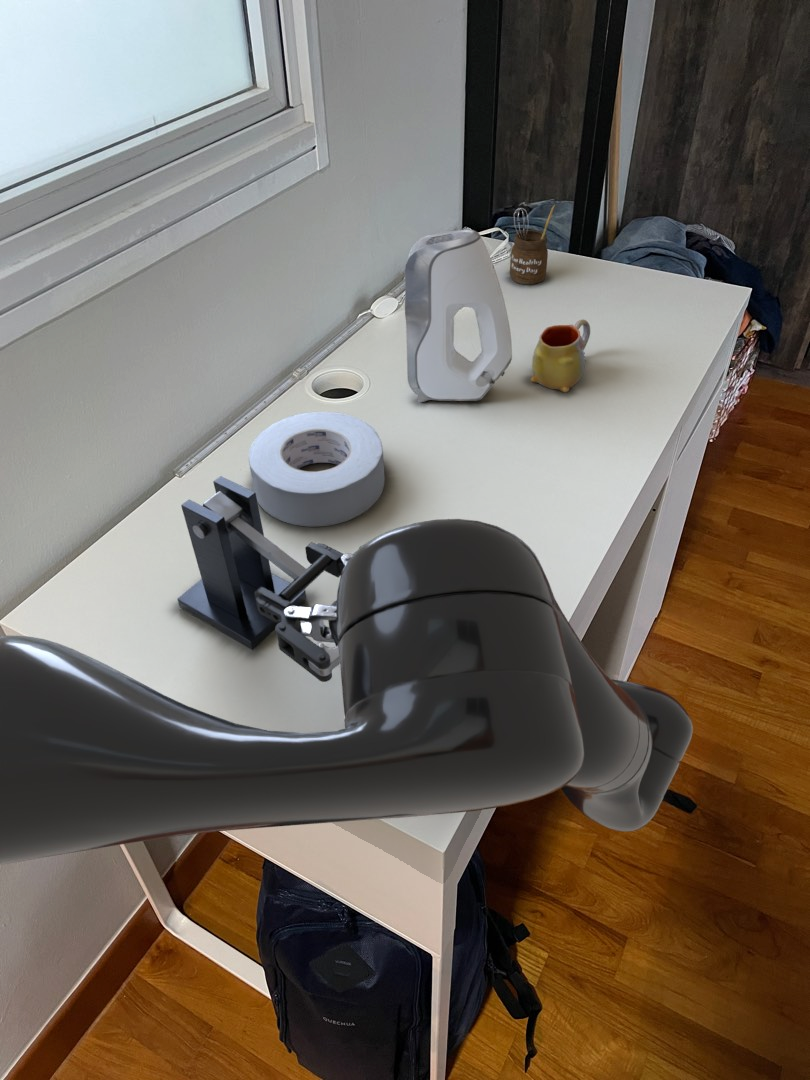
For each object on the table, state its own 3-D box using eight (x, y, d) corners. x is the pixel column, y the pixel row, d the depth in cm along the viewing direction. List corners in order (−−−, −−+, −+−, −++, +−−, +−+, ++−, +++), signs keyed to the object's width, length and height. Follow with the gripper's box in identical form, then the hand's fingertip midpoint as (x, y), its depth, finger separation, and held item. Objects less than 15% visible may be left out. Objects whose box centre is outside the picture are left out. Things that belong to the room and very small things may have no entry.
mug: (564, 398, 108) (570, 353, 104) (520, 381, 111) (524, 337, 107) (609, 360, 115) (616, 316, 110) (566, 345, 118) (571, 302, 114)
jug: (407, 402, 108) (401, 239, 94) (412, 381, 112) (407, 221, 98) (508, 407, 107) (518, 241, 92) (509, 385, 111) (520, 223, 96)
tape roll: (405, 504, 93) (404, 468, 90) (276, 542, 89) (270, 507, 86) (357, 432, 104) (354, 398, 100) (239, 464, 99) (232, 430, 96)
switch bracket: (307, 599, 83) (290, 494, 73) (252, 650, 78) (227, 545, 69) (235, 561, 87) (210, 457, 78) (179, 607, 82) (146, 503, 73)
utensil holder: (514, 267, 137) (519, 194, 129) (551, 272, 136) (558, 199, 127) (504, 282, 133) (508, 208, 125) (542, 288, 132) (549, 213, 123)
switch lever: (330, 570, 75) (334, 555, 73) (287, 610, 71) (290, 596, 69) (232, 495, 77) (234, 479, 76) (186, 531, 74) (186, 515, 72)
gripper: (485, 570, 68) (330, 498, 76) (384, 686, 60) (219, 592, 67) (482, 629, 74) (336, 556, 81) (387, 743, 65) (234, 651, 72)
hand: (284, 573), depth 74 cm, fingers open, 6 cm apart
